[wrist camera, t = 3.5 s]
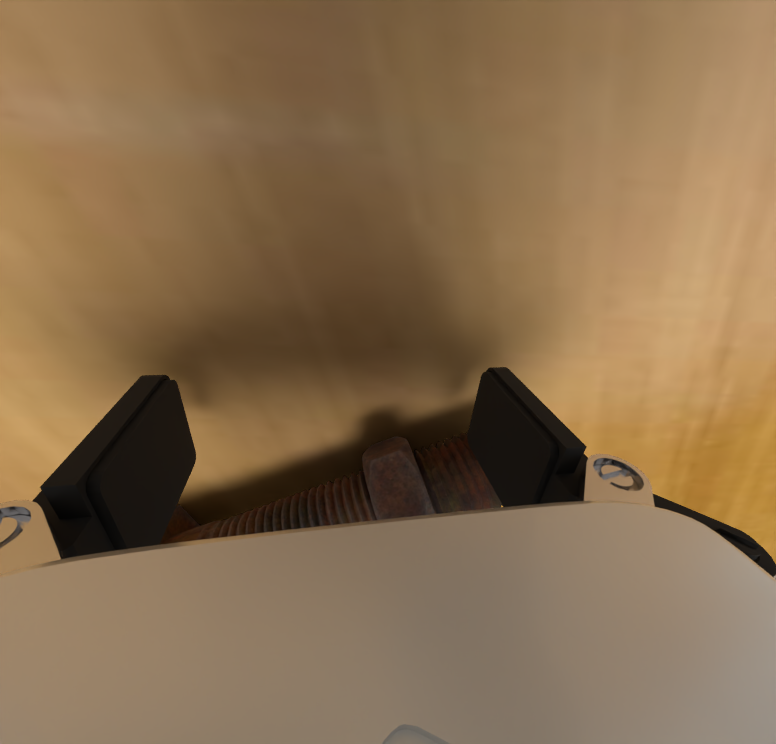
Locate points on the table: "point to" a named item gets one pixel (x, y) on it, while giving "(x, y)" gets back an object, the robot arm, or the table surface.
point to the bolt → (365, 493)
